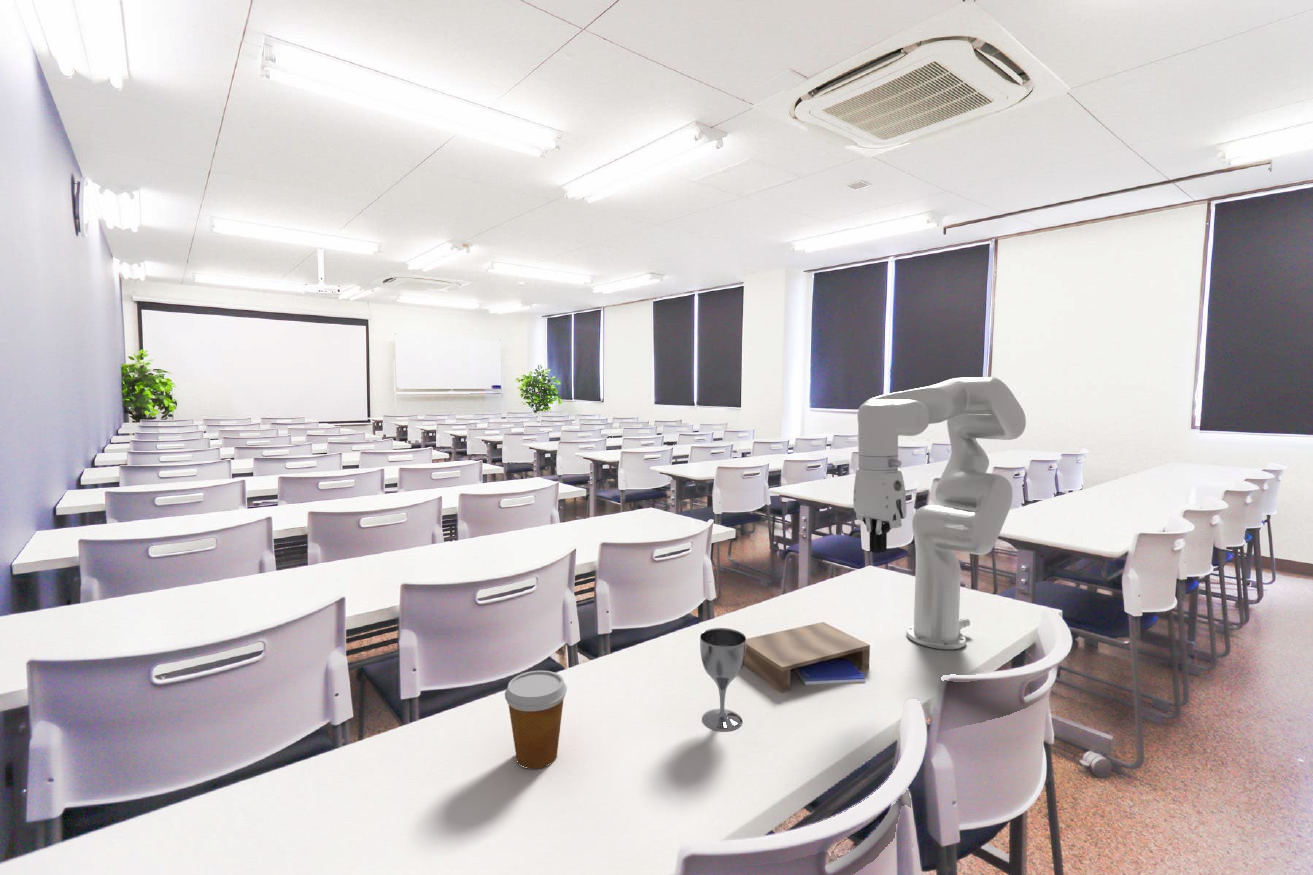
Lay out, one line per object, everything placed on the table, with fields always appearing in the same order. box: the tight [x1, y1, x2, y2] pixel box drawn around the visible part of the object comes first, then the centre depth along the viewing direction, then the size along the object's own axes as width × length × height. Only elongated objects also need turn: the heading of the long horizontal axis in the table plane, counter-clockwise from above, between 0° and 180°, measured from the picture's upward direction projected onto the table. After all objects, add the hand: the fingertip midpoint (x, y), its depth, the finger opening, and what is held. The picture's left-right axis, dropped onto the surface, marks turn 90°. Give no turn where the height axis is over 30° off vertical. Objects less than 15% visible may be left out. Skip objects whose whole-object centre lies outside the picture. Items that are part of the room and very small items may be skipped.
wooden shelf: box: [743, 621, 871, 693], centre depth 123 cm, size 23×14×5 cm, turn 116°
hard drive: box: [793, 659, 866, 685], centre depth 120 cm, size 2×8×12 cm
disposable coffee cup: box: [504, 670, 568, 770], centre depth 92 cm, size 10×10×12 cm
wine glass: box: [699, 627, 747, 732], centre depth 102 cm, size 8×8×15 cm
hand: (878, 551), depth 120 cm, fingers closed
